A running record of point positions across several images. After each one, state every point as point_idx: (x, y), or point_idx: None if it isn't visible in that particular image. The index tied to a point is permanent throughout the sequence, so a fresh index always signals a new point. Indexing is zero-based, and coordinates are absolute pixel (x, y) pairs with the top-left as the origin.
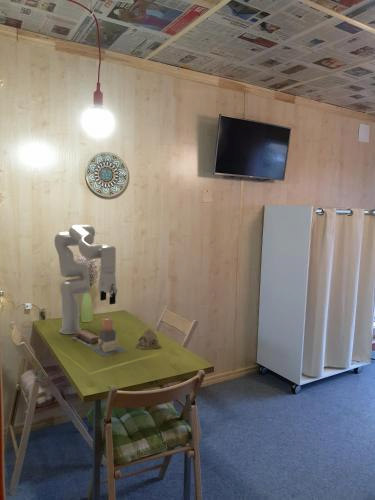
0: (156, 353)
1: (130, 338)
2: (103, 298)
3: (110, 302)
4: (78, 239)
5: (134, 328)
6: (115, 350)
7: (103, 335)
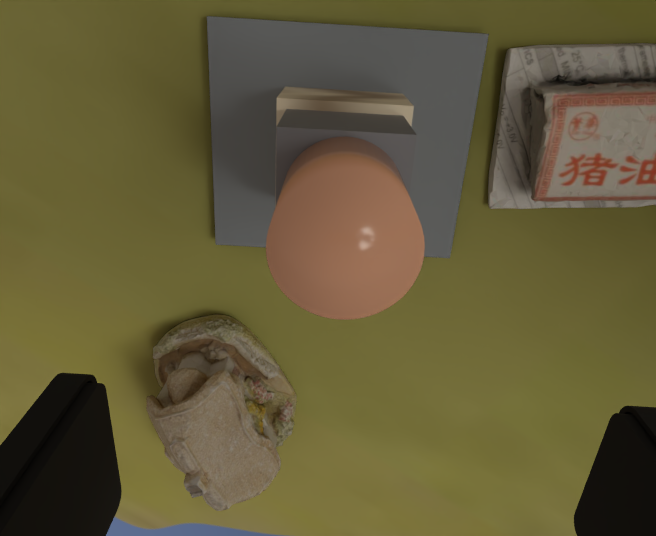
0: (92, 366)
1: (431, 395)
2: (615, 501)
3: (34, 420)
4: None
5: (565, 506)
6: (265, 177)
7: (320, 121)
